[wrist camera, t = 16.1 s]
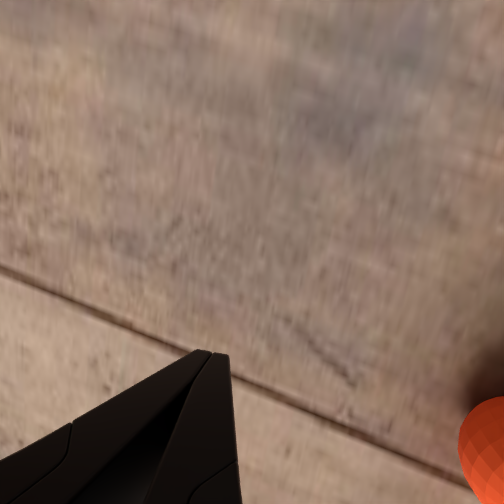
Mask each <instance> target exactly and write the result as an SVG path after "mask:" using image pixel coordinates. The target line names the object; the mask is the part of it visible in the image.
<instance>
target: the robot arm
mask: <svg viewBox="0 0 504 504" xmlns="http://www.w3.org/2000/svg"><path fill="white" fill-rule="evenodd" d="M0 504H242V496H241V488H240V478H239V466H238V456H237V444H236V432H235V420H234V408H233V396H232V384H231V371H230V359H229V356H228V355H227V354H222V353H216V352H215V353H213V354H212V352H210V351H206V350H200V349H196V350H194V351H192V352H191V353H189V354H187V355H186V356H184V357H182V358H180V359H179V360H177V361H175V362H173V363H172V364H170V365H168V366H166V367H165V368H163V369H161V370H160V371H158V372H156V373H154V374H153V375H151V376H149V377H147V378H146V379H144V380H142V381H141V382H139V383H137V384H135V385H134V386H132V387H130V388H128V389H127V390H125V391H123V392H121V393H120V394H118V395H116V396H115V397H113V398H111V399H109V400H108V401H106V402H104V403H102V404H101V405H99V406H97V407H96V408H94V409H92V410H90V411H89V412H87V413H85V414H83V415H82V416H80V417H78V418H76V419H75V420H73V422H72V423H68V424H66V425H64V426H62V427H61V428H59V429H57V430H55V431H54V432H52V433H50V434H48V435H47V436H45V437H43V438H41V439H39V440H38V441H36V442H34V443H32V444H30V445H28V446H27V447H25V448H23V449H21V450H19V451H17V452H15V453H13V454H11V455H9V456H7V457H5V458H4V459H2V460H0Z"/></svg>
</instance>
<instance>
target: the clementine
mask: <svg viewBox="0 0 504 504" xmlns="http://www.w3.org/2000/svg"><path fill="white" fill-rule="evenodd" d="M458 453H459V458H460V462H461V465H462V469H463V472H464V476H465V478H466V479H467V481H468V483H469V484H470V486H471V488H472V489H473V491H474V493H475V494H476V496H477V497H478V499H479V500H480V502H481V503H482V504H504V396H500V397H495V398H492V399H489V400H486V401H484V402H482V403H481V404H479V405H477V406H476V407H475V408H474V409H473V410H472V411H471V412H470V413H469V414H468V415H467V417H466V418H465V420H464V422H463V424H462V426H461V428H460V433H459V442H458Z"/></svg>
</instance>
